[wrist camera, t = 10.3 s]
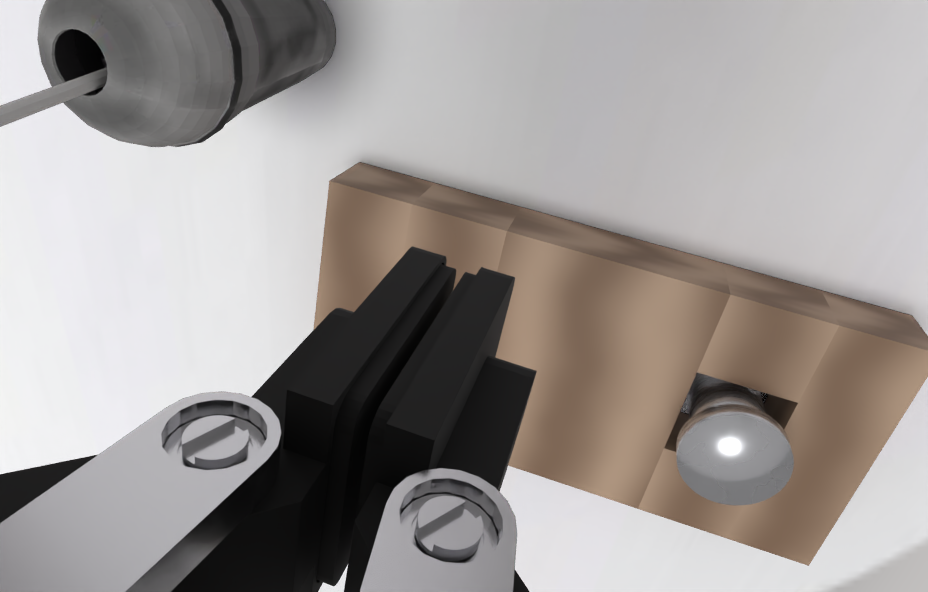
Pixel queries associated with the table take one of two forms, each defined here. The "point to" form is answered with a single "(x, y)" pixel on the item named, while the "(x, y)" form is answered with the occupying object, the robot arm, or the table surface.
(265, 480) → the robot arm
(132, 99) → the beverage cup
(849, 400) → the button board
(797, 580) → the table surface
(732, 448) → the grey plunger
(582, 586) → the table surface
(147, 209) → the table surface
